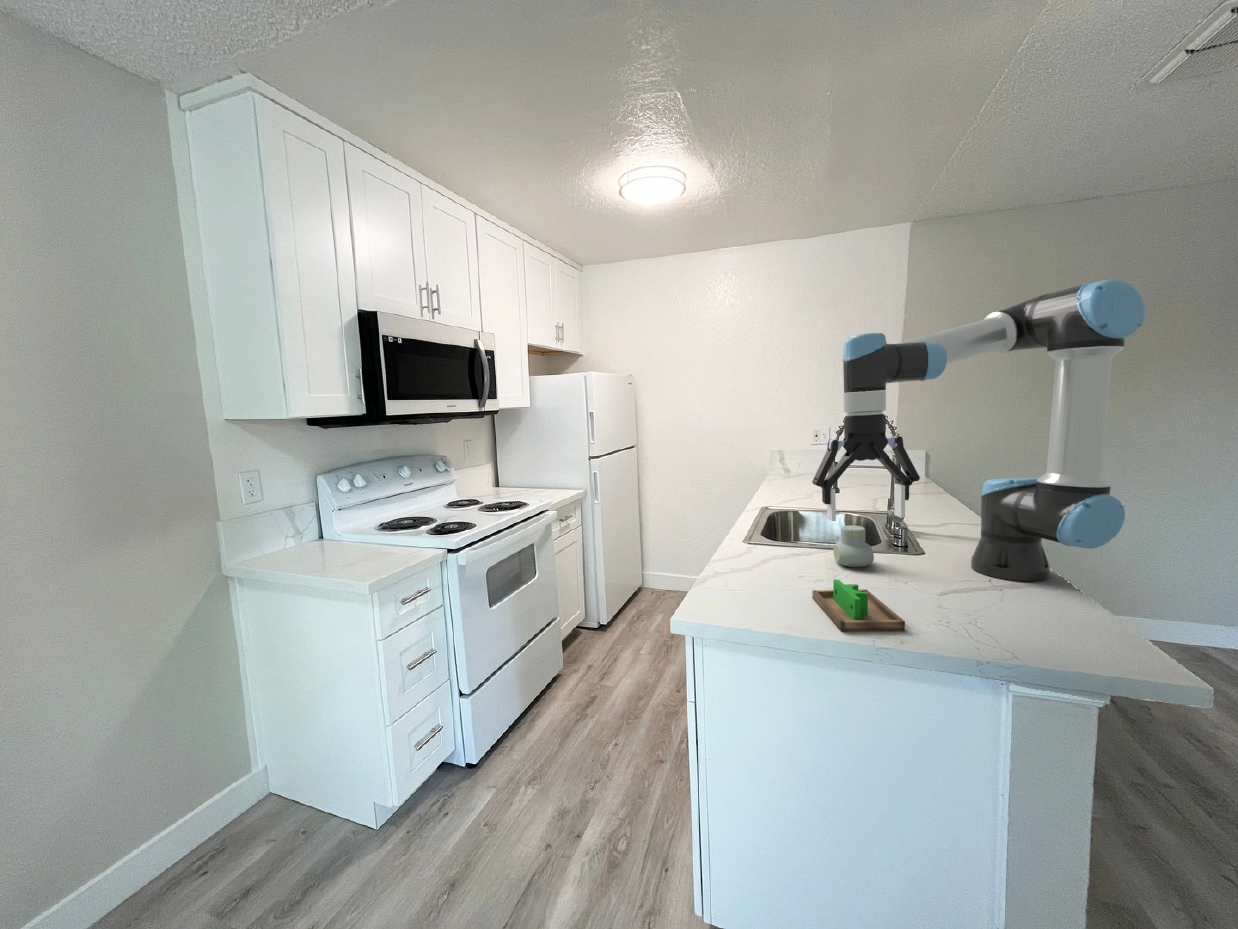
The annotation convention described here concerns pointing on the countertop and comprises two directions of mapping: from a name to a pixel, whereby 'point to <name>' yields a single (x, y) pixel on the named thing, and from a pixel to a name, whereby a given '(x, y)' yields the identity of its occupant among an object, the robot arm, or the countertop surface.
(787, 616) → the countertop surface
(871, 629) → the tray
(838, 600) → the pipe clamp
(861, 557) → the air freshener
